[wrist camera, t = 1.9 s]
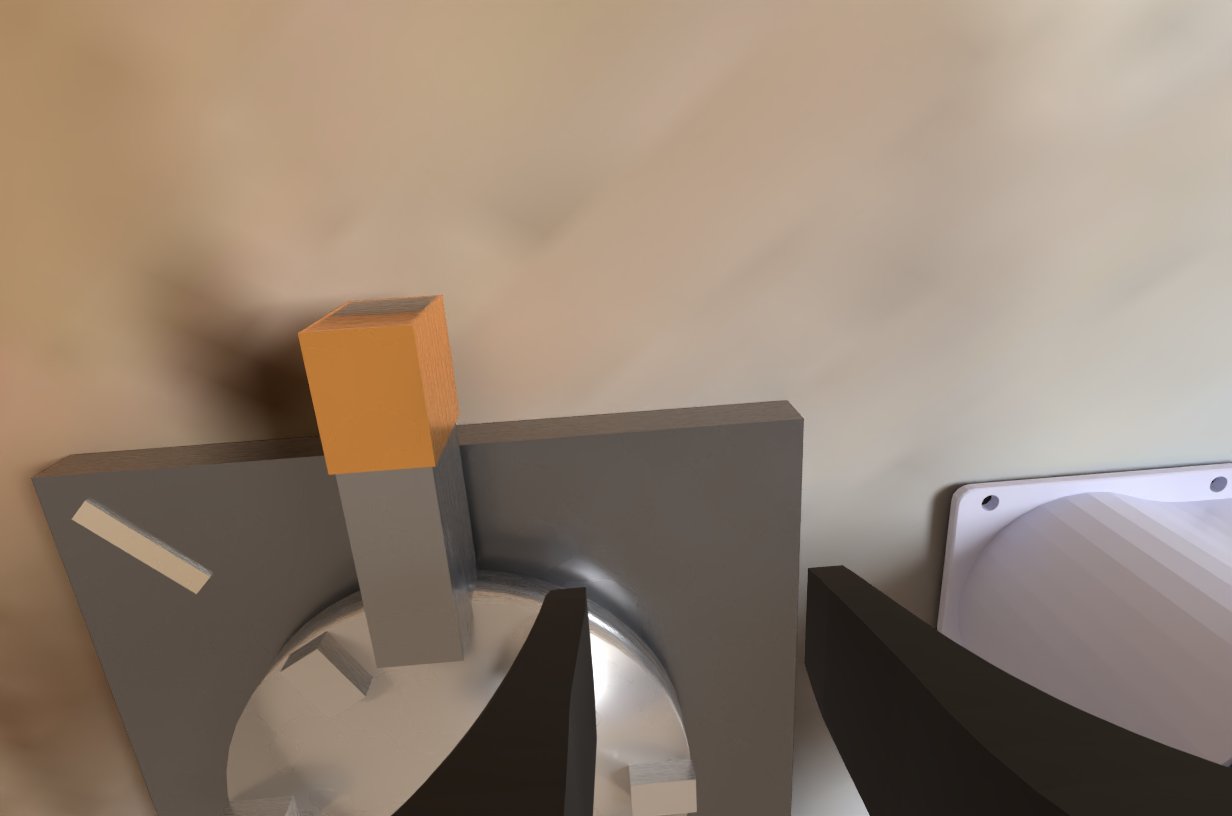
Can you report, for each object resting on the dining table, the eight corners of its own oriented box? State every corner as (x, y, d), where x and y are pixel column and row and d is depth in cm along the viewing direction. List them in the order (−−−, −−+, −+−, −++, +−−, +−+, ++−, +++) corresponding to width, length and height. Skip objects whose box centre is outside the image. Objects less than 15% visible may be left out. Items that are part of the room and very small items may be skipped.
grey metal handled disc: (668, 278, 17) (690, 305, 14) (689, 885, 24) (707, 994, 21) (117, 317, 16) (9, 353, 13) (301, 923, 23) (259, 1041, 20)
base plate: (787, 400, 20) (805, 420, 18) (775, 895, 27) (787, 939, 25) (70, 454, 19) (28, 479, 18) (243, 948, 26) (223, 996, 24)
